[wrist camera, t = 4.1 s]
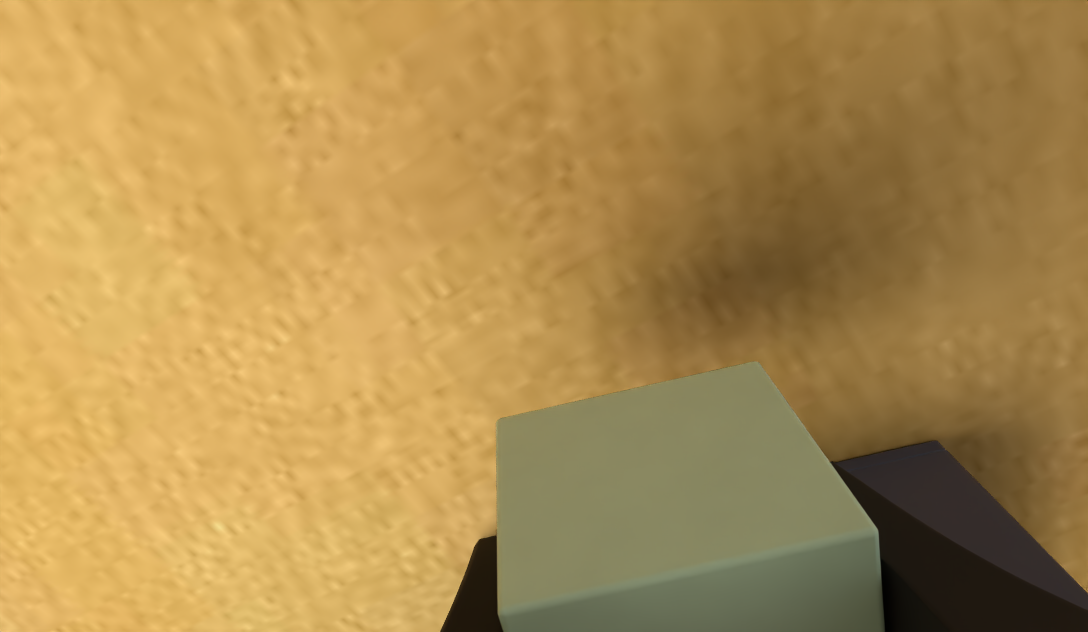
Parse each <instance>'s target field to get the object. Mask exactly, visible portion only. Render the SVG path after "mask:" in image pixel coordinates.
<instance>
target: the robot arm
mask: <svg viewBox="0 0 1088 632" xmlns="http://www.w3.org/2000/svg"><path fill="white" fill-rule="evenodd" d="M830 463H831V464H832V466H833V467H834V469H835V470H836V471H837V473H838V474H839V476H840V477H841V478H842V480H843V481H844V483H845V484H846V486H847V487H848V488H849V490H850V491H851V493H852V494H853V495H854V497H855V498H856V500H857V501H858V502H859V504H860V505H861V507H862V508H863V509H864V511H865V512H866V514H867V515H868V516H869V518H870V519H871V521H872V522H873V523H874V525H875V526H876V528H877V529H878V534H879V549H880V564H881V579H882V594H883V609H884V624H885V632H1088V610H1086V609H1084V608H1082V607H1079V606H1077V605H1075V604H1073V603H1071V602H1069V601H1067V600H1064V599H1062V598H1060V597H1058V596H1056V595H1054V594H1052V593H1050V592H1047V591H1045V590H1043V589H1041V588H1039V587H1037V586H1035V585H1033V584H1031V583H1029V582H1027V581H1025V580H1023V579H1021V578H1019V577H1017V576H1015V575H1013V574H1011V573H1009V572H1007V571H1005V570H1003V569H1002V568H1000V567H998V566H996V565H994V564H993V563H991V562H989V561H987V560H985V559H984V558H982V557H980V556H978V555H976V554H975V553H973V552H971V551H969V550H967V549H966V548H964V547H962V546H960V545H959V544H957V543H955V542H954V541H952V540H950V539H949V538H947V537H946V536H944V535H942V534H941V533H939V532H938V531H936V530H934V529H933V528H931V527H930V526H928V525H926V524H925V523H923V522H922V521H920V520H919V519H917V518H915V517H914V516H912V515H911V514H909V513H908V512H906V511H905V510H903V509H902V508H900V507H899V506H897V505H896V504H894V503H893V502H891V501H890V500H888V499H887V498H885V497H884V496H882V495H881V494H879V493H878V492H876V491H875V490H874V489H872V488H871V487H869V486H868V485H866V484H865V483H863V482H862V481H861V480H859V479H858V478H856V477H855V476H853V475H852V474H850V473H849V472H847V471H846V470H844V469H843V468H841V467H840V466H838V465H837V464H835V463H834V462H830ZM440 632H503V629H502V626H501V622H500V619H499V616H498V599H497V536H492V537H488V538H483V539H480V540H479V541H478V542H477V544H476V545H475V547H474V550H473V553H472V556H471V558H470V561H469V564H468V567H467V570H466V572H465V575H464V577H463V580H462V582H461V585H460V587H459V590H458V592H457V595H456V597H455V600H454V602H453V604H452V607H451V609H450V611H449V613H448V616H447V618H446V620H445V622H444V624H443V627H442V629H441V631H440Z"/></svg>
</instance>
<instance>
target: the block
mask: <svg viewBox="0 0 1088 632" xmlns="http://www.w3.org/2000/svg"><path fill="white" fill-rule="evenodd" d="M496 487H497V599H498V616H499V619H500V622H501V626H502V629H503V632H885V624H884V609H883V594H882V579H881V564H880V549H879V534H878V529H877V528H876V526H875V525H874V523H873V522H872V521H871V519H870V518H869V516H868V515H867V514H866V512H865V511H864V509H863V508H862V507H861V505H860V504H859V502H858V501H857V500H856V498H855V497H854V495H853V494H852V493H851V491H850V490H849V488H848V487H847V486H846V484H845V483H844V481H843V480H842V478H841V477H840V476H839V474H838V473H837V471H836V470H835V469H834V467H833V466H832V464H831V463H830V462H829V460H828V459H827V457H826V456H825V455H824V453H823V452H822V450H821V449H820V448H819V446H818V445H817V443H816V442H815V441H814V439H813V438H812V436H811V435H810V433H809V432H808V431H807V429H806V428H805V426H804V425H803V424H802V422H801V421H800V419H799V418H798V417H797V415H796V414H795V412H794V411H793V410H792V408H791V407H790V405H789V404H788V403H787V401H786V400H785V398H784V397H783V396H782V394H781V393H780V391H779V390H778V388H777V387H776V386H775V384H774V383H773V381H772V380H771V379H770V377H769V376H768V374H767V373H766V372H765V370H764V369H763V367H762V366H761V365H760V363H759V362H754V361H753V362H749V363H744V364H740V365H735V366H731V367H726V368H722V369H717V370H713V371H709V372H704V373H700V374H695V375H691V376H686V377H682V378H677V379H673V380H669V381H664V382H660V383H655V384H651V385H646V386H642V387H637V388H633V389H629V390H624V391H620V392H615V393H611V394H606V395H602V396H598V397H593V398H589V399H584V400H580V401H575V402H571V403H566V404H562V405H558V406H553V407H549V408H544V409H540V410H535V411H531V412H526V413H522V414H518V415H513V416H509V417H504V418H500V419H499V420H497V422H496Z"/></svg>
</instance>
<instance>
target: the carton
mask: <svg viewBox="0 0 1088 632" xmlns="http://www.w3.org/2000/svg"><path fill="white" fill-rule="evenodd" d="M835 464H837V465H838V466H840V467H841V468H843V469H844V470H846V471H847V472H849V473H850V474H852V475H853V476H855V477H856V478H858V479H859V480H861V481H862V482H863V483H865V484H866V485H868V486H869V487H871V488H872V489H874V490H875V491H876V492H878V493H879V494H881V495H882V496H884V497H885V498H887V499H888V500H890V501H891V502H893V503H894V504H896V505H897V506H899V507H900V508H902V509H903V510H905V511H906V512H908V513H909V514H911V515H912V516H914V517H915V518H917V519H919V520H920V521H922V522H923V523H925V524H926V525H928V526H930V527H931V528H933V529H934V530H936V531H938V532H939V533H941V534H942V535H944V536H946V537H947V538H949V539H950V540H952V541H954V542H955V543H957V544H959V545H960V546H962V547H964V548H966V549H967V550H969V551H971V552H973V553H975V554H976V555H978V556H980V557H982V558H984V559H985V560H987V561H989V562H991V563H993V564H994V565H996V566H998V567H1000V568H1002V569H1003V570H1005V571H1007V572H1009V573H1011V574H1013V575H1015V576H1017V577H1019V578H1021V579H1023V580H1025V581H1027V582H1029V583H1031V584H1033V585H1035V586H1037V587H1039V588H1041V589H1043V590H1045V591H1047V592H1050V593H1052V594H1054V595H1056V596H1058V597H1060V598H1062V599H1064V600H1067V601H1069V602H1071V603H1073V604H1075V605H1077V606H1079V607H1082V608H1084V609H1086V610H1088V593H1087V592H1086V591H1085V590H1084V589H1083V588H1082V587H1081V586H1080V585H1079V584H1078V583H1077V582H1076V581H1075V580H1074V579H1073V578H1072V577H1071V576H1070V575H1069V574H1068V573H1067V572H1066V571H1065V570H1064V569H1063V568H1062V567H1061V566H1060V565H1059V564H1058V563H1057V562H1056V561H1055V560H1054V559H1053V558H1052V557H1051V556H1050V555H1049V554H1048V553H1047V552H1046V551H1045V550H1044V549H1043V548H1042V547H1041V545H1040V544H1039V543H1038V542H1037V541H1036V540H1035V539H1034V538H1033V537H1032V536H1031V535H1030V534H1029V533H1028V532H1027V531H1026V530H1025V529H1024V528H1023V527H1022V526H1021V525H1020V524H1019V523H1018V522H1017V521H1016V520H1015V519H1014V518H1013V517H1012V516H1011V515H1010V514H1009V513H1008V512H1007V511H1006V510H1005V509H1004V508H1003V507H1002V506H1001V505H1000V504H999V503H998V502H997V501H996V500H995V499H994V498H993V497H992V496H991V495H990V494H989V493H988V492H987V491H986V490H985V489H984V488H983V487H982V486H981V485H980V484H979V483H978V482H977V481H976V479H975V478H974V477H973V476H972V475H971V474H970V473H969V472H968V471H967V470H966V469H965V468H964V467H963V466H962V465H961V464H960V463H959V462H958V461H957V460H956V459H955V458H954V457H953V456H952V455H951V454H950V453H949V452H948V451H947V450H945V448H944V447H943V446H942V445H941V444H940V443H939V442H938V441H931V442H926V443H922V444H917V445H913V446H908V447H904V448H899V449H895V450H890V451H886V452H882V453H877V454H873V455H868V456H864V457H859V458H855V459H850V460H846V461H841V462H837V463H835Z"/></svg>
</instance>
